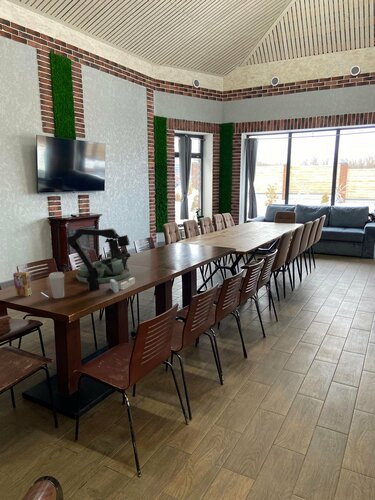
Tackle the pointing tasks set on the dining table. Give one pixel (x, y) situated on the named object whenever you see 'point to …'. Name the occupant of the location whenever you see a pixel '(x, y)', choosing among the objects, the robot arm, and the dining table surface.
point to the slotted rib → (127, 283)
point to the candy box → (22, 283)
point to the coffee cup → (57, 284)
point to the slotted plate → (114, 285)
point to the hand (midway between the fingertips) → (118, 270)
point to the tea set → (105, 271)
